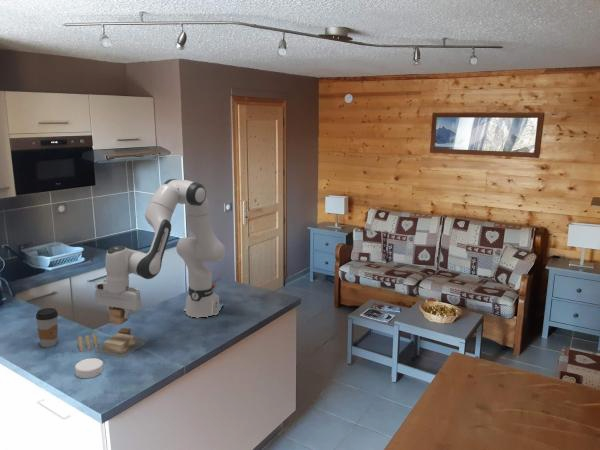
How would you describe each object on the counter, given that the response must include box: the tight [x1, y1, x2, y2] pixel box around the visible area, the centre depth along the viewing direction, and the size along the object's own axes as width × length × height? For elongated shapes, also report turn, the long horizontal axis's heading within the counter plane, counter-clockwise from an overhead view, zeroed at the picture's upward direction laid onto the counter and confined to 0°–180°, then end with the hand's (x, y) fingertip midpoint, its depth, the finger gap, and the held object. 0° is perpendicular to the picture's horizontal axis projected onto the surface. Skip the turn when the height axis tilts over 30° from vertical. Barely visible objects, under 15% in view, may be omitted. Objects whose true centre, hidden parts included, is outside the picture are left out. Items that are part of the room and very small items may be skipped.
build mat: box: [94, 337, 149, 359], centre depth 209 cm, size 18×14×1 cm
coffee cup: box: [35, 307, 59, 348], centre depth 207 cm, size 8×8×15 cm
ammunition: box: [77, 333, 99, 353], centre depth 206 cm, size 5×7×8 cm
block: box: [117, 327, 132, 335], centre depth 215 cm, size 4×4×4 cm
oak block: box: [108, 307, 128, 326], centre depth 204 cm, size 5×5×6 cm
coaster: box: [74, 357, 104, 379], centre depth 188 cm, size 10×10×4 cm
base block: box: [103, 333, 135, 355], centre depth 206 cm, size 10×8×4 cm
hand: (118, 316), depth 204 cm, fingers closed on oak block, 5 cm apart
